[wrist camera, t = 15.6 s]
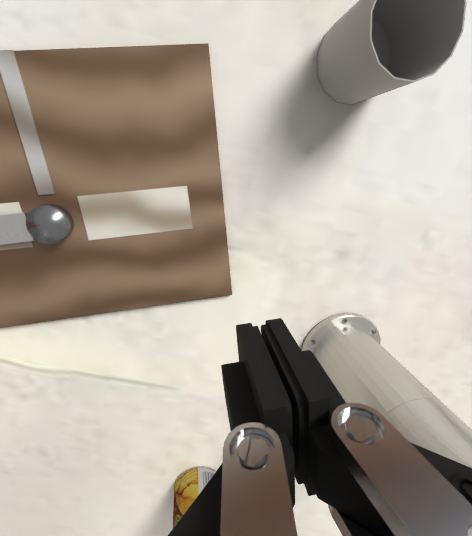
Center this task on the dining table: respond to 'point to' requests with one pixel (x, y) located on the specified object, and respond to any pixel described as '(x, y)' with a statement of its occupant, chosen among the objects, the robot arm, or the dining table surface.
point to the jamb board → (111, 180)
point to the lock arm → (36, 225)
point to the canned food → (189, 489)
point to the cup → (387, 46)
